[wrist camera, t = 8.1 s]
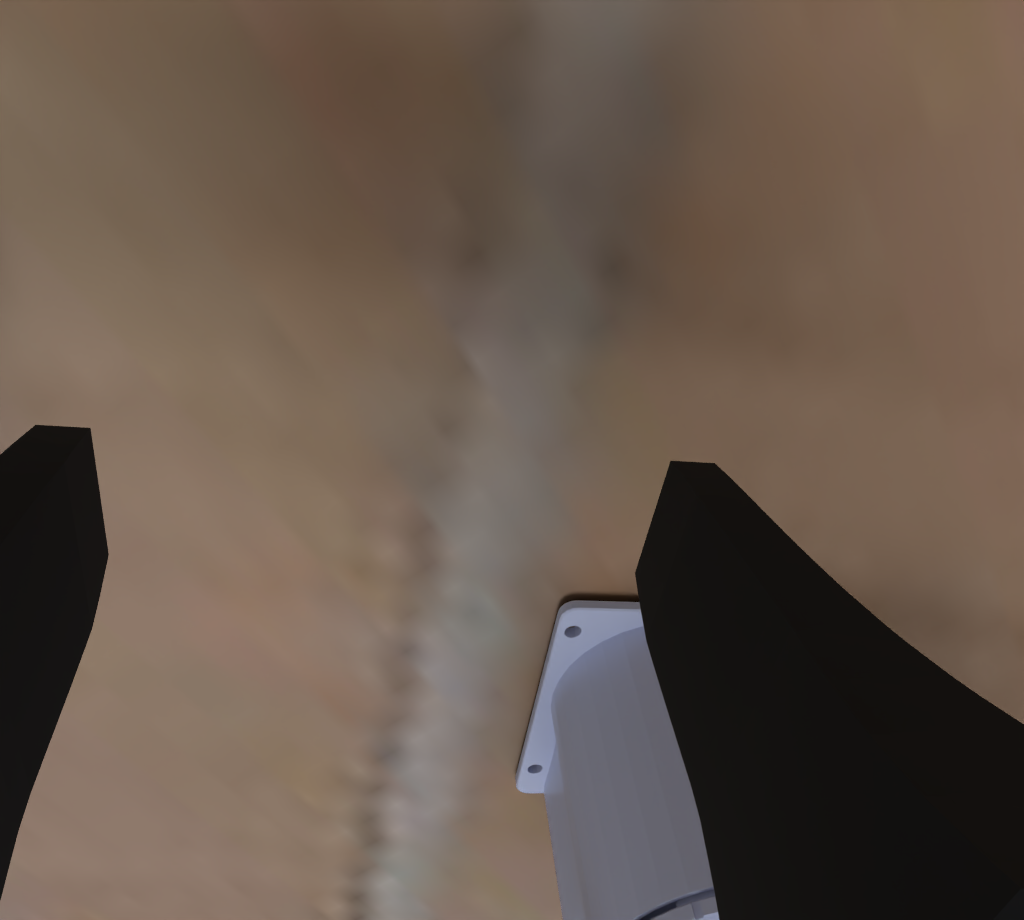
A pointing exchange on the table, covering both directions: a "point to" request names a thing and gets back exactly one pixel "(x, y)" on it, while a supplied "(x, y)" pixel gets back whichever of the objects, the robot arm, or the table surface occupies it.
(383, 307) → the table surface
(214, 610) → the table surface
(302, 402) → the table surface
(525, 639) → the table surface
